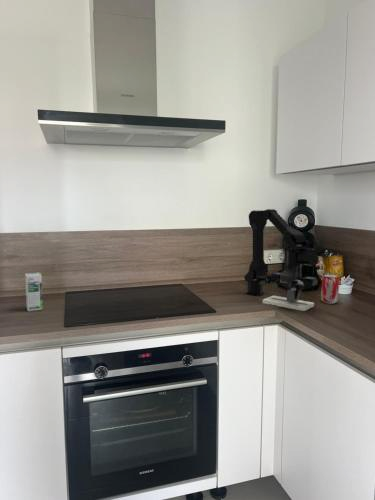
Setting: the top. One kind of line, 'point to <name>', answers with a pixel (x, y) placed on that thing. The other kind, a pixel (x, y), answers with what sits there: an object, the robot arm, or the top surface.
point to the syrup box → (34, 291)
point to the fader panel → (288, 303)
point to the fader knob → (291, 295)
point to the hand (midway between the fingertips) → (292, 298)
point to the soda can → (330, 289)
